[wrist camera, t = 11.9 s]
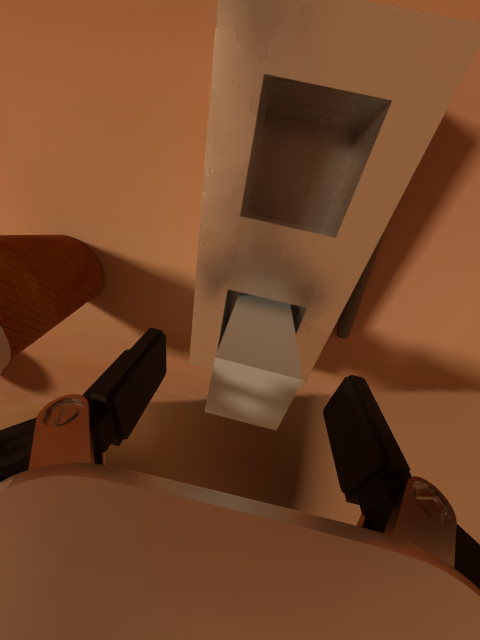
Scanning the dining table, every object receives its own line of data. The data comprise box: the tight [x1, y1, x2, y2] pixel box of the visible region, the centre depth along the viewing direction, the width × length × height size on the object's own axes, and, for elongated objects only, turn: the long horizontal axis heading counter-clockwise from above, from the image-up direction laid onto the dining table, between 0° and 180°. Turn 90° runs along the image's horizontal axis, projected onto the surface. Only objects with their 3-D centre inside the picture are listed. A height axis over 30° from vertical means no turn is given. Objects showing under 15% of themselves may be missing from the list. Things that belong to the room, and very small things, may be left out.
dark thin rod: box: [337, 230, 385, 339], centre depth 16 cm, size 15×1×1 cm, turn 179°
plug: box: [205, 292, 303, 430], centre depth 14 cm, size 5×4×10 cm
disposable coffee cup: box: [0, 235, 104, 374], centre depth 15 cm, size 10×10×12 cm
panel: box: [189, 0, 480, 392], centre depth 15 cm, size 20×10×5 cm, turn 169°
